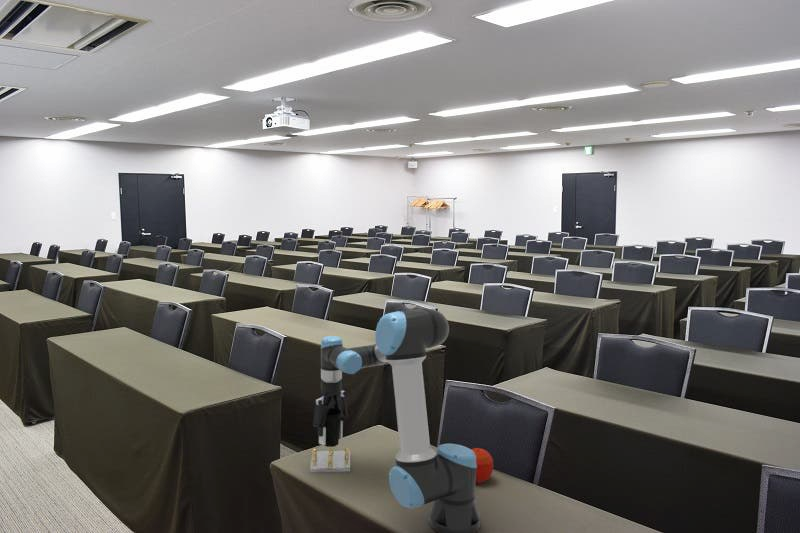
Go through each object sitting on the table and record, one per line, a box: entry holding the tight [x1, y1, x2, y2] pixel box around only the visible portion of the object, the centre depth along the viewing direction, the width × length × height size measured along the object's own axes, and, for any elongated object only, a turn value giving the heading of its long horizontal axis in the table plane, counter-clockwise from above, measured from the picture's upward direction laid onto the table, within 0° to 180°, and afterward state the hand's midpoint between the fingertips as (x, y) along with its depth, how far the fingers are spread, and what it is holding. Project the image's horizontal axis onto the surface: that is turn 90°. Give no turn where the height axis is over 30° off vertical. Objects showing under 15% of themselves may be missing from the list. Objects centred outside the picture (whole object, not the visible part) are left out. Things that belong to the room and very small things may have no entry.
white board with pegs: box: [309, 447, 351, 474], centre depth 204 cm, size 14×14×6 cm
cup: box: [323, 407, 342, 448], centre depth 203 cm, size 8×8×12 cm
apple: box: [470, 447, 494, 484], centre depth 194 cm, size 10×10×12 cm
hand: (330, 440), depth 204 cm, fingers closed on cup, 8 cm apart
